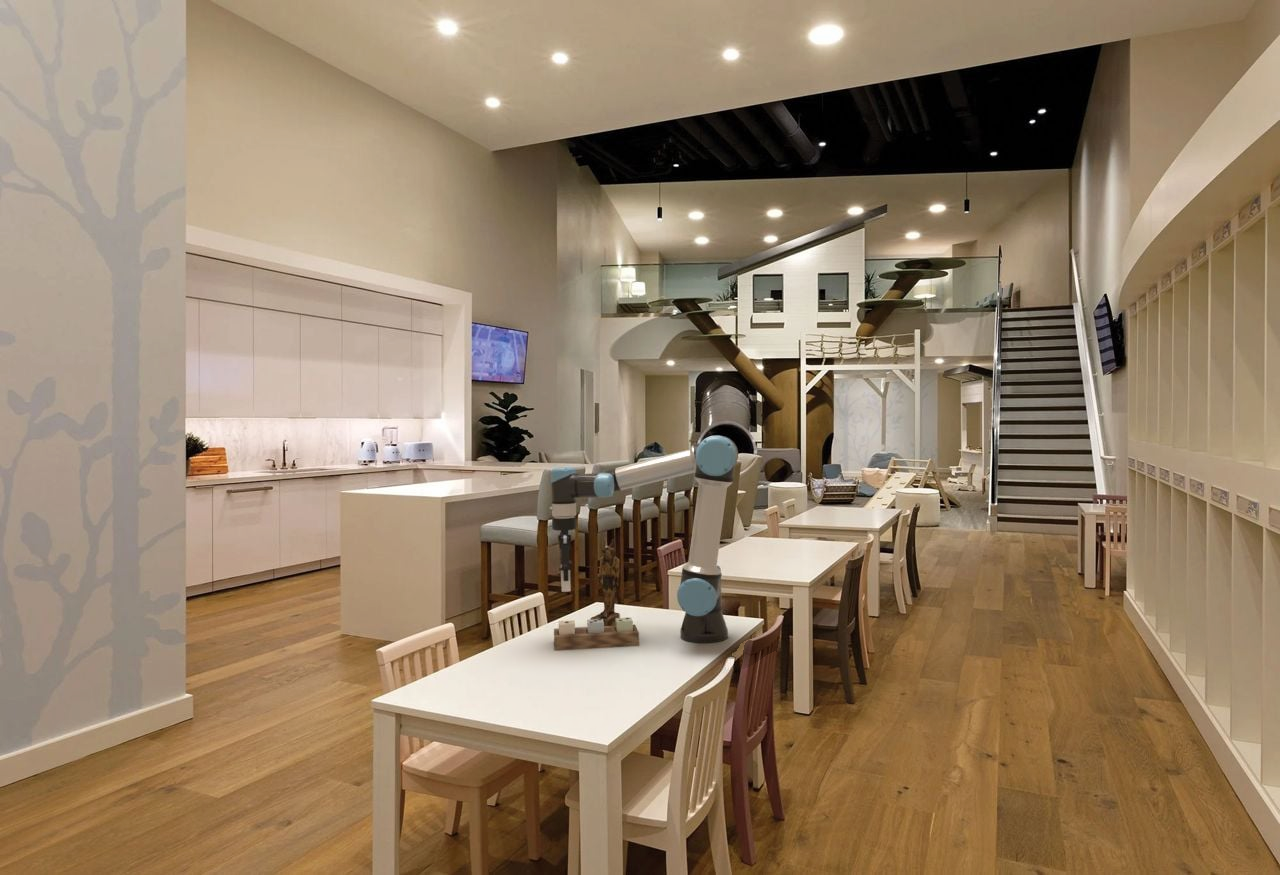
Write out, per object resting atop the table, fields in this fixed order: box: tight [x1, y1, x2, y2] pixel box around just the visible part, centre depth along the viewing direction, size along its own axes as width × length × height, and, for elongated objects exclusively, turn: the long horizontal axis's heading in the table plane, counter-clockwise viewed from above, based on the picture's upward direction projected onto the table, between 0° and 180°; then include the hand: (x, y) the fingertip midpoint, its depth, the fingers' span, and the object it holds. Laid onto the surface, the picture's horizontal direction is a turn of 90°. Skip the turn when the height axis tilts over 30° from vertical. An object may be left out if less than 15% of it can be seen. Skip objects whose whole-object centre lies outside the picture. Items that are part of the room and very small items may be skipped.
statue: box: [589, 538, 621, 626], centre depth 272 cm, size 8×11×30 cm
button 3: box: [586, 619, 604, 633], centre depth 252 cm, size 5×5×4 cm
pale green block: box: [615, 617, 634, 632], centre depth 253 cm, size 5×5×4 cm
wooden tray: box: [553, 624, 640, 651], centre depth 252 cm, size 26×11×4 cm, turn 97°
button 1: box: [558, 620, 576, 635], centre depth 251 cm, size 5×5×4 cm
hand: (565, 588), depth 251 cm, fingers open, 10 cm apart
